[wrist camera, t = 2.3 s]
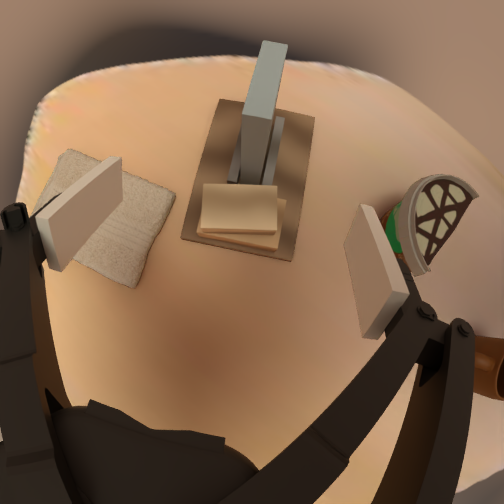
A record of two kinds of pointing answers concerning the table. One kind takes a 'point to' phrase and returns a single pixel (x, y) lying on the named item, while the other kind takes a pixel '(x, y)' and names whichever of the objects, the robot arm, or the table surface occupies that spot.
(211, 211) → the offcut stack
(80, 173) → the washcloth
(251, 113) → the tall panel
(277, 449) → the table surface
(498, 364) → the mug
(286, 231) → the brown rectangular board
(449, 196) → the food container
